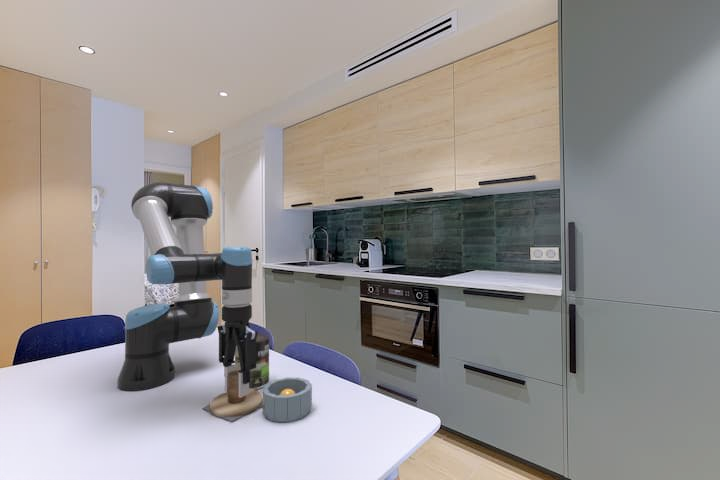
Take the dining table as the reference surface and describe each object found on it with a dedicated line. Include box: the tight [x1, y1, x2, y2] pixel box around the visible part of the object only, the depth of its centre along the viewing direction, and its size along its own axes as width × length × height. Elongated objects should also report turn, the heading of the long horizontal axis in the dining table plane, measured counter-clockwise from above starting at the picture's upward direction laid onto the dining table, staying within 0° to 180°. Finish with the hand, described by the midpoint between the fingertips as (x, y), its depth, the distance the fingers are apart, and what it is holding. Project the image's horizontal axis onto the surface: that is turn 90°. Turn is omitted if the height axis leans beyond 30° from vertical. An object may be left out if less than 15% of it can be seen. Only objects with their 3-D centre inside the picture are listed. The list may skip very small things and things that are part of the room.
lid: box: [209, 370, 263, 418], centre depth 88 cm, size 13×13×8 cm
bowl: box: [262, 376, 313, 424], centre depth 85 cm, size 12×12×6 cm
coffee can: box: [234, 333, 270, 391], centre depth 102 cm, size 10×10×14 cm
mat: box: [202, 397, 263, 423], centre depth 88 cm, size 12×12×1 cm
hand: (236, 392), depth 88 cm, fingers open, 5 cm apart
